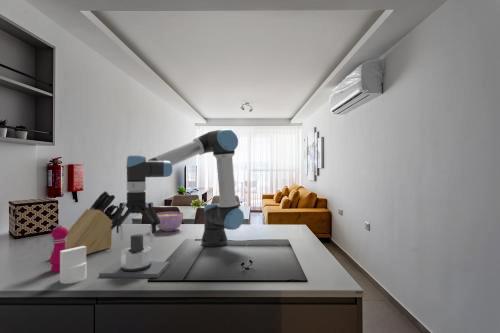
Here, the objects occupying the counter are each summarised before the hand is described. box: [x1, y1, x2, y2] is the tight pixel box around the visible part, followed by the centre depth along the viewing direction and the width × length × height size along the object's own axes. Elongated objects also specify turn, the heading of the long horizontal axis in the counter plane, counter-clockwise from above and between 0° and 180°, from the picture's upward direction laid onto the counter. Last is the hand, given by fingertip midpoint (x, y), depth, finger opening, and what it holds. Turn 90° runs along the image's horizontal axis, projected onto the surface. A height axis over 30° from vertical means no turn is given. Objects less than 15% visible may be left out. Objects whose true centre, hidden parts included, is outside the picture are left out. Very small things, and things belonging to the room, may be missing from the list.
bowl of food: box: [156, 211, 184, 233], centre depth 201 cm, size 20×20×12 cm
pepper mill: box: [49, 223, 69, 273], centre depth 124 cm, size 7×7×20 cm
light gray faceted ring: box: [120, 245, 153, 272], centre depth 122 cm, size 12×12×8 cm
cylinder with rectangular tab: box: [59, 246, 88, 285], centre depth 113 cm, size 9×9×12 cm
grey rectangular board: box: [98, 260, 171, 279], centre depth 122 cm, size 24×15×2 cm, turn 87°
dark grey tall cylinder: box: [130, 233, 144, 252], centre depth 122 cm, size 5×5×12 cm
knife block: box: [50, 190, 124, 256], centre depth 152 cm, size 11×35×31 cm, turn 155°
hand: (136, 241), depth 122 cm, fingers open, 13 cm apart
